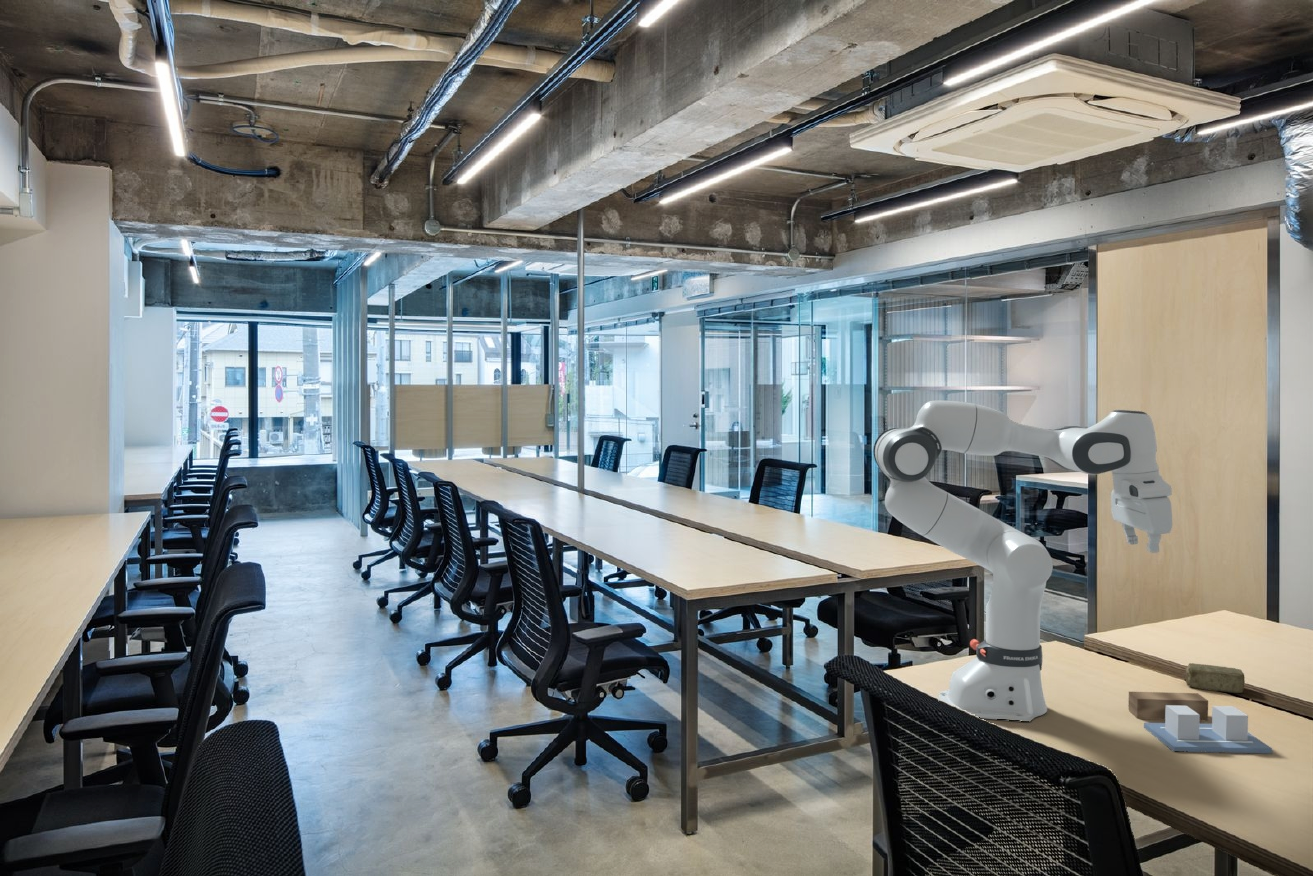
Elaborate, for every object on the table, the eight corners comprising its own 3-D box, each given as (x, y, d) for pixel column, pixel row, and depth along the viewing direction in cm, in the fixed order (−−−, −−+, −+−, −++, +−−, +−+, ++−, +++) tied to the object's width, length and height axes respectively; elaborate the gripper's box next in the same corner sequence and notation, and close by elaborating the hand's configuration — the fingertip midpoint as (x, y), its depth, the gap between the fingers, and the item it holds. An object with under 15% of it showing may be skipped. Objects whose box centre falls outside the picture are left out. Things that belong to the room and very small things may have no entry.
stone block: (1245, 696, 198) (1245, 674, 198) (1186, 689, 203) (1186, 668, 203) (1241, 688, 203) (1242, 667, 203) (1184, 681, 208) (1184, 660, 208)
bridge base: (1173, 751, 169) (1174, 721, 168) (1143, 727, 180) (1144, 699, 180) (1271, 753, 167) (1272, 722, 167) (1235, 729, 179) (1236, 700, 179)
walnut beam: (1137, 719, 185) (1137, 698, 185) (1128, 711, 190) (1128, 691, 190) (1207, 721, 184) (1208, 700, 183) (1197, 713, 188) (1197, 693, 188)
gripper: (1100, 480, 198) (1106, 541, 199) (1143, 491, 178) (1150, 558, 178) (1129, 477, 198) (1135, 538, 198) (1175, 488, 177) (1182, 555, 178)
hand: (1142, 548), depth 188 cm, fingers open, 8 cm apart
